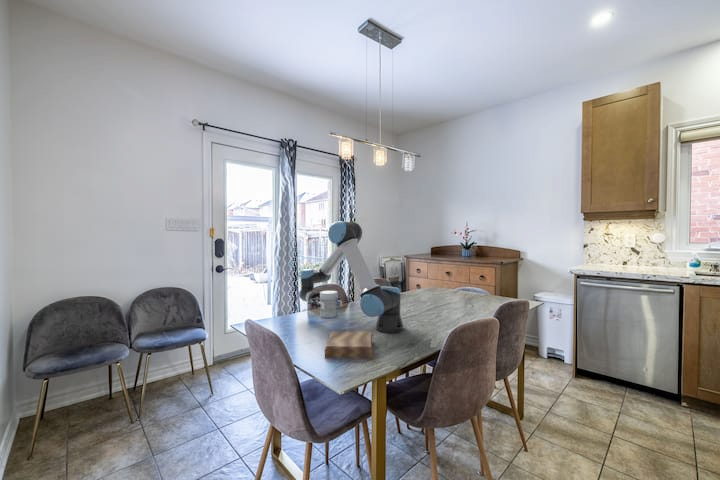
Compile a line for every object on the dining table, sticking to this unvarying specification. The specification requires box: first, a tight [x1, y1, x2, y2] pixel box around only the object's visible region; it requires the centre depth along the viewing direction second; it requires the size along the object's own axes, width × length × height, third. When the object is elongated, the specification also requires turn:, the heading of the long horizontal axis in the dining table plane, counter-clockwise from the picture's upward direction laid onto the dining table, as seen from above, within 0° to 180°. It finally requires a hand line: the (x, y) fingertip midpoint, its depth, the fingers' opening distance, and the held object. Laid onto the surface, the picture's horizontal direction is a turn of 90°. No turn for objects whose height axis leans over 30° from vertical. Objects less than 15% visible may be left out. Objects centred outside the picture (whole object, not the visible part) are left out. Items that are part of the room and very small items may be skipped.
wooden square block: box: [324, 330, 373, 360], centre depth 139 cm, size 20×20×5 cm
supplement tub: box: [319, 290, 339, 323], centre depth 162 cm, size 10×10×15 cm
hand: (333, 305), depth 159 cm, fingers closed on supplement tub, 9 cm apart
